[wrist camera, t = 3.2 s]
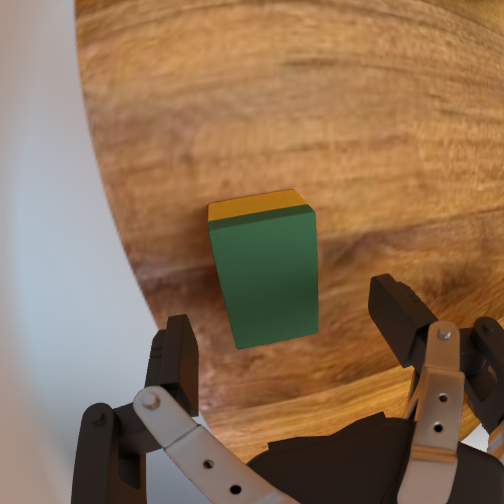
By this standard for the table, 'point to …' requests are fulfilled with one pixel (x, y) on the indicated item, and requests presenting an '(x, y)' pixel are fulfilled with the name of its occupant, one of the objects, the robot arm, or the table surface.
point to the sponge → (266, 266)
